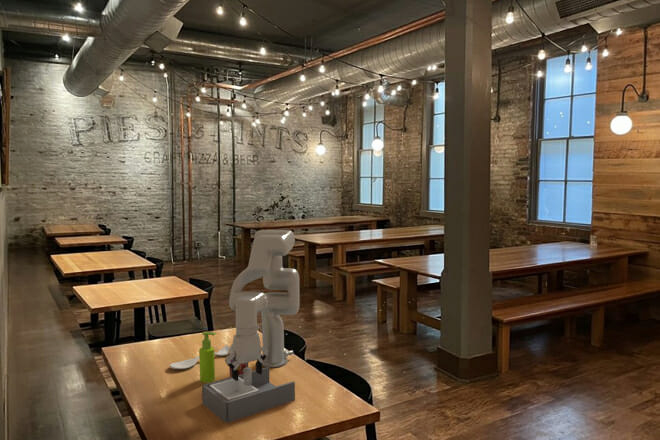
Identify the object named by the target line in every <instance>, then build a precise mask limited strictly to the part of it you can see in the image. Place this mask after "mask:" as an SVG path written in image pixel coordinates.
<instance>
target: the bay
mask: <svg viewBox="0 0 660 440" xmlns="http://www.w3.org/2000/svg"><path fill="white" fill-rule="evenodd" d="M238 377H240V378H241V379H243V374H241V375H238ZM230 379H233V378H232V377H230V376H229V377H227V378H224V379H220V380H216V381H215V380H214V381H213V382H210V383H203V384H201V394H202V395H201V402H202V405H204V407H206V408H207V409H208V410H209V411H211V412H212V413H213V414H214V415H215V416H217V417H218V418H219V419H220V420H221V421H223V422H224V423H225V424H228V423H229V424H230V423H233V422H235V421H238V420H241V419H243V418H247V417H249V416H253V415H255V414H256V415H257V414H258V413H262V412H264V411H267V410H271V409H273V408H276V407H279V406H283V405H285V404H288V403H291V402H294V401H296V382H295V380H294V381H293V380H292V381H290V382H286V383H283V384H279V385H277V386H276V385H275V384H273V383H272V382H270V367H264V368H263V367H262V374H258V373H257V372H256V369H255V370H252V384H251V385H252V386H254V387H255V388H257V389H258V390H259V392H257V393H253V394H250V395H247V396H244V397H240V398H237V399H234V400H231V401H226V400H224V399H223V398H222V397H220V396H219V395H218V394H216V393H215V392H214V391H212V390H211V389H210V388H209V385H212V384H216V383H219V382H223V381H226V380H230Z"/></svg>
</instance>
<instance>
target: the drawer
mask: <svg viewBox="0 0 660 440" xmlns="http://www.w3.org/2000/svg"><path fill="white" fill-rule="evenodd" d="M252 371H253V370H252V368H251V367H248V368H244V369H243V379H241V378H240V377H238V381H236V380H234V379H230V380H226V381H223V382H219V383H216V384H212V385H209V388H210V389H211V390H212V391H214V392H215V393H216V394H218V395H219V396H220V397H222V398H223V399H224V400H226V401H231V400H234V399H237V398H240V397H244V396H247V395H250V394H253V393H257V392H259V390H258V389H257V388H255V387H254V386H252V385H251V384H252Z"/></svg>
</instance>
